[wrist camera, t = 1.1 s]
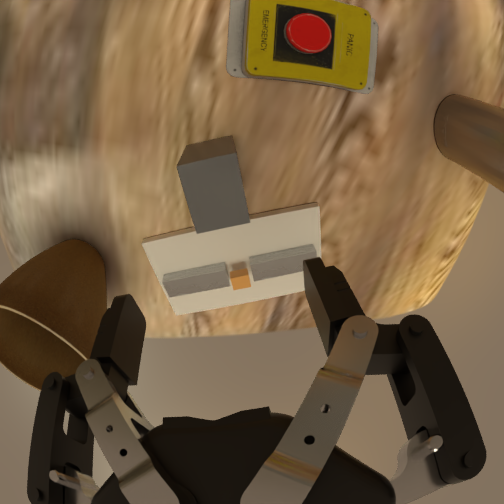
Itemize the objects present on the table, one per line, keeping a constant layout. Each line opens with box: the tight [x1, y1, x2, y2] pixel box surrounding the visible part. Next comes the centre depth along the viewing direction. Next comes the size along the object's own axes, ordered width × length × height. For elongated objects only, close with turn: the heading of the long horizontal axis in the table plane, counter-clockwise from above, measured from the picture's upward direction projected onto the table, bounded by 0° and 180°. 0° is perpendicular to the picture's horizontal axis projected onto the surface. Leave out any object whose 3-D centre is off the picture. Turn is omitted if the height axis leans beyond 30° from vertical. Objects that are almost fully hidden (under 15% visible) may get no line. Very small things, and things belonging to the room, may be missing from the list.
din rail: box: [162, 244, 317, 298], centre depth 32 cm, size 18×2×2 cm, turn 100°
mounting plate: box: [142, 202, 321, 315], centre depth 33 cm, size 20×12×1 cm, turn 100°
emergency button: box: [226, 0, 378, 94], centre depth 18 cm, size 9×4×15 cm
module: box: [177, 135, 250, 234], centre depth 24 cm, size 4×6×7 cm
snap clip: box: [230, 268, 251, 290], centre depth 31 cm, size 2×2×1 cm
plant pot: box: [0, 239, 107, 391], centre depth 24 cm, size 15×15×16 cm
